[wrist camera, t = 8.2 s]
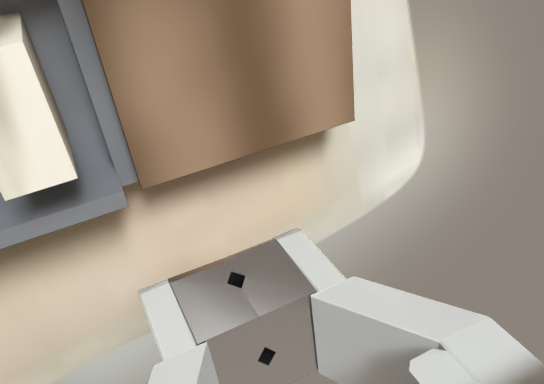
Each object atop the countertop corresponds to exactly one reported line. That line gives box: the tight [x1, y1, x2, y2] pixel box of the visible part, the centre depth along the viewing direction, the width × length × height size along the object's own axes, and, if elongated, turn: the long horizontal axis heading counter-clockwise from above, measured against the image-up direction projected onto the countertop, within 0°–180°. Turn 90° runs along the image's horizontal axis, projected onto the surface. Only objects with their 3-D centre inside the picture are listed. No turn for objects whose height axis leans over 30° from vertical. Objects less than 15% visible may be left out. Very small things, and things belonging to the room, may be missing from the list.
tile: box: [0, 10, 78, 201], centre depth 19 cm, size 5×5×2 cm
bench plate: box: [81, 0, 355, 189], centre depth 22 cm, size 11×11×3 cm
